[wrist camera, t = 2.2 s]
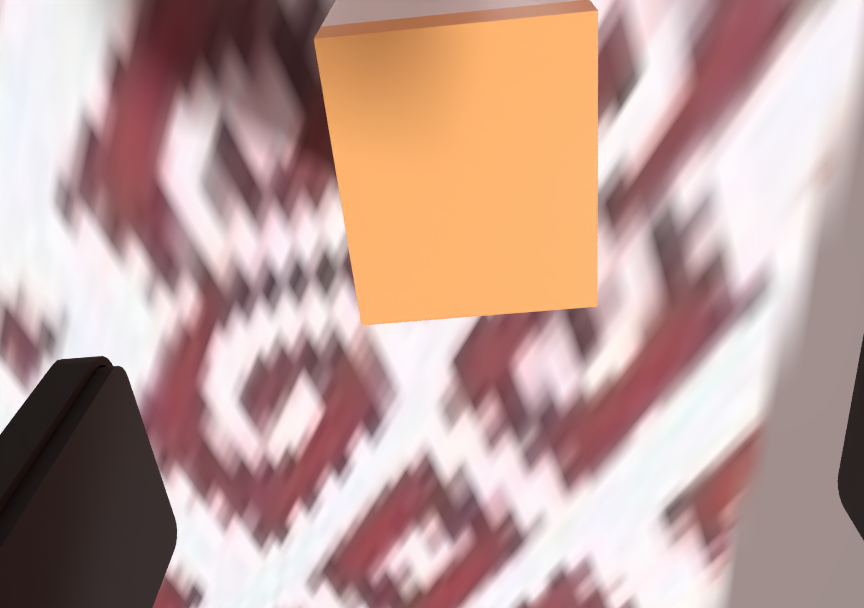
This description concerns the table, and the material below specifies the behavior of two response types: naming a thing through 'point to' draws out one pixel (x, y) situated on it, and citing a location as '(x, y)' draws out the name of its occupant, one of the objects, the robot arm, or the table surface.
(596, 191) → the block
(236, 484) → the table surface
